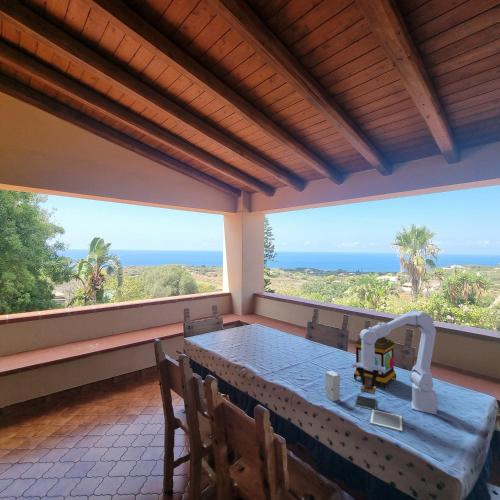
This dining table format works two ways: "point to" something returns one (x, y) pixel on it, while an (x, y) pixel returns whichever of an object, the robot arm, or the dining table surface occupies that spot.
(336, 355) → the dining table surface
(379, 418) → the marked board
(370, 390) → the stamp
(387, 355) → the decorative lantern
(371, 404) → the ink pad
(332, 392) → the skincare box
